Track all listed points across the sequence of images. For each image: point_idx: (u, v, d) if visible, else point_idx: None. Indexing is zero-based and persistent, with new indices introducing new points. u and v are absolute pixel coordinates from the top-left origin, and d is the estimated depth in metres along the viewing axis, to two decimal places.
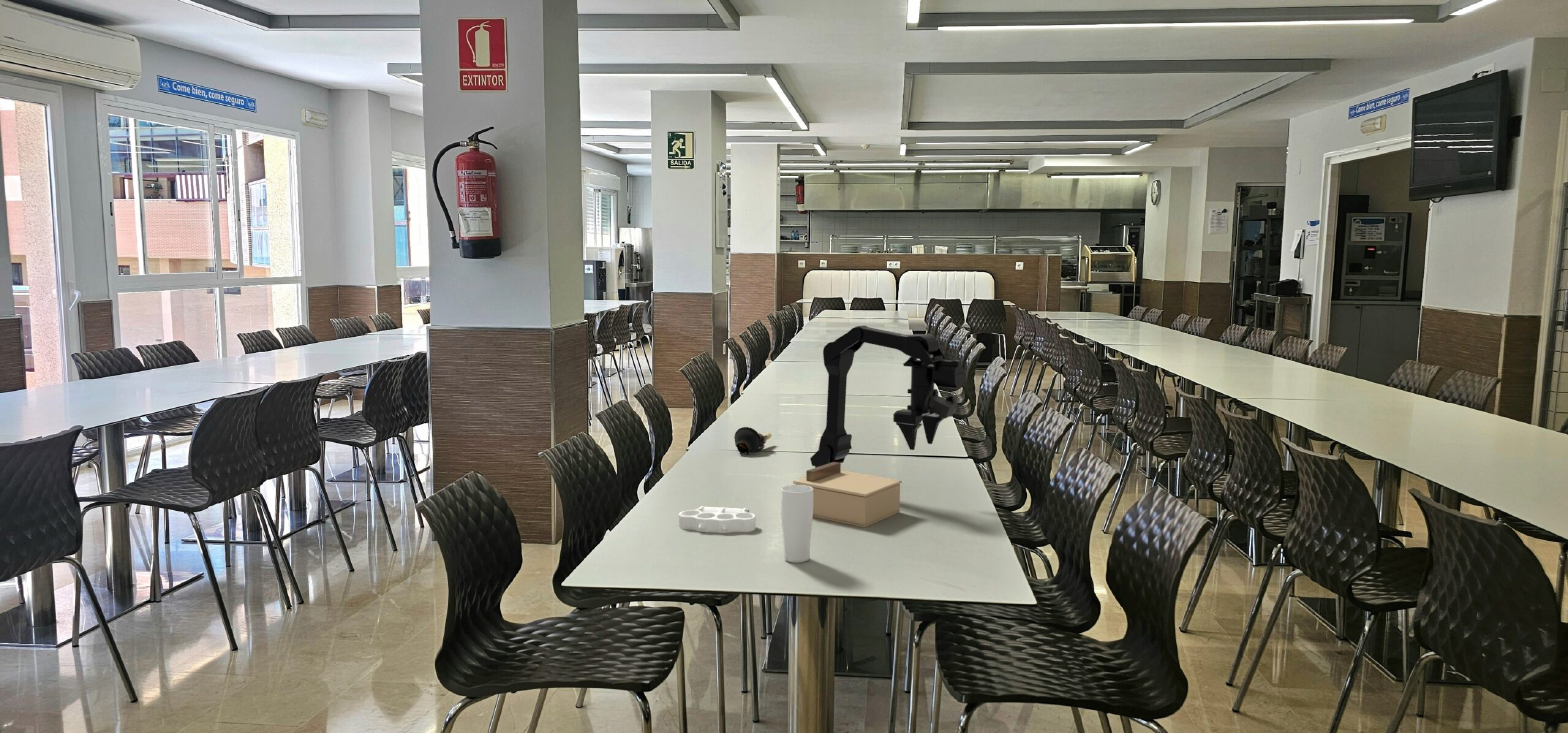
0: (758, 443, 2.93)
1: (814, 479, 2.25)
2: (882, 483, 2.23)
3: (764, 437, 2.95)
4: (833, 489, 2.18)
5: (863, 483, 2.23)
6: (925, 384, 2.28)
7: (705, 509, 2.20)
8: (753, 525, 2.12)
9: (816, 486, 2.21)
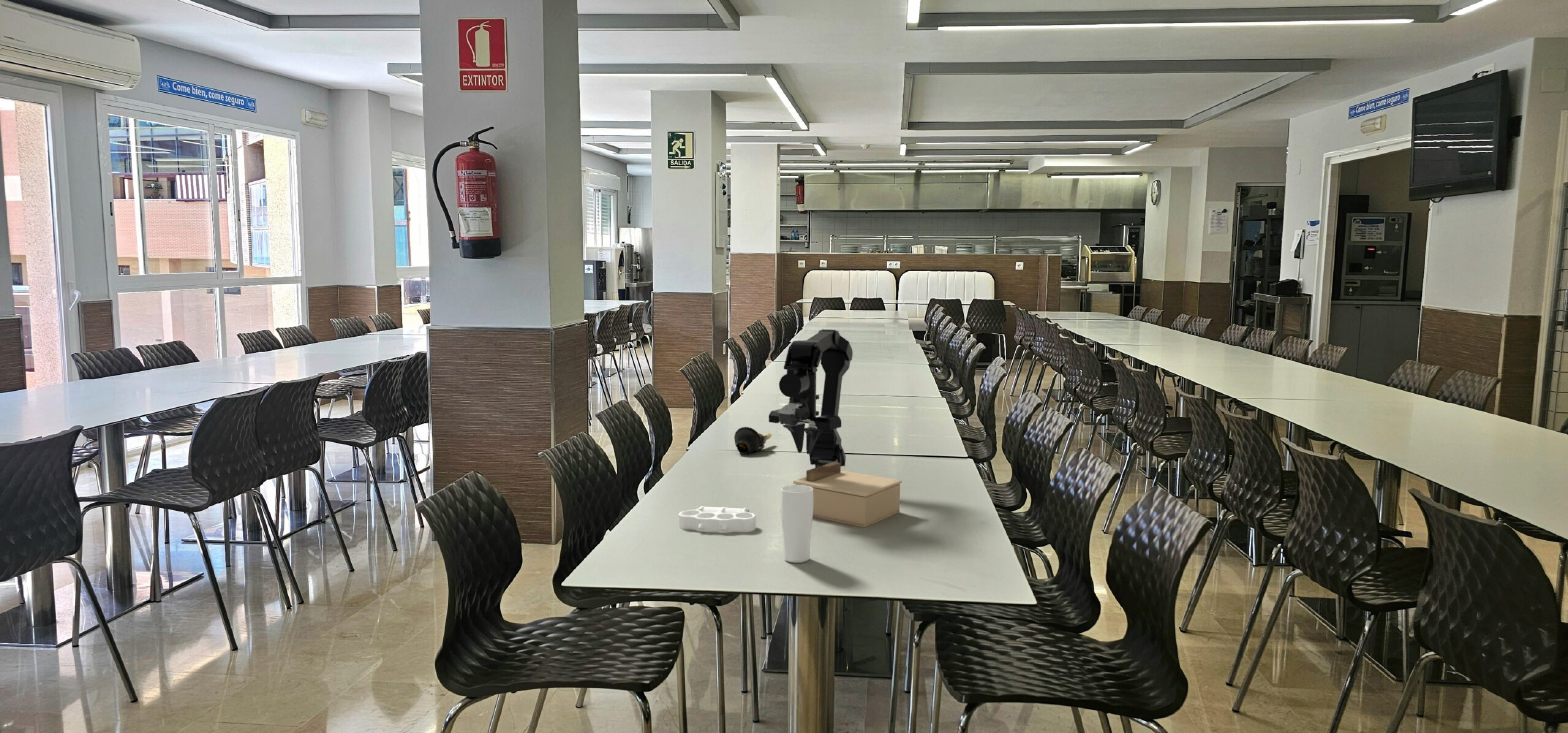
0: (758, 443, 2.93)
1: (814, 479, 2.25)
2: (882, 483, 2.23)
3: (764, 437, 2.95)
4: (833, 489, 2.18)
5: (863, 483, 2.23)
6: None
7: (705, 509, 2.20)
8: (753, 525, 2.12)
9: (816, 486, 2.21)
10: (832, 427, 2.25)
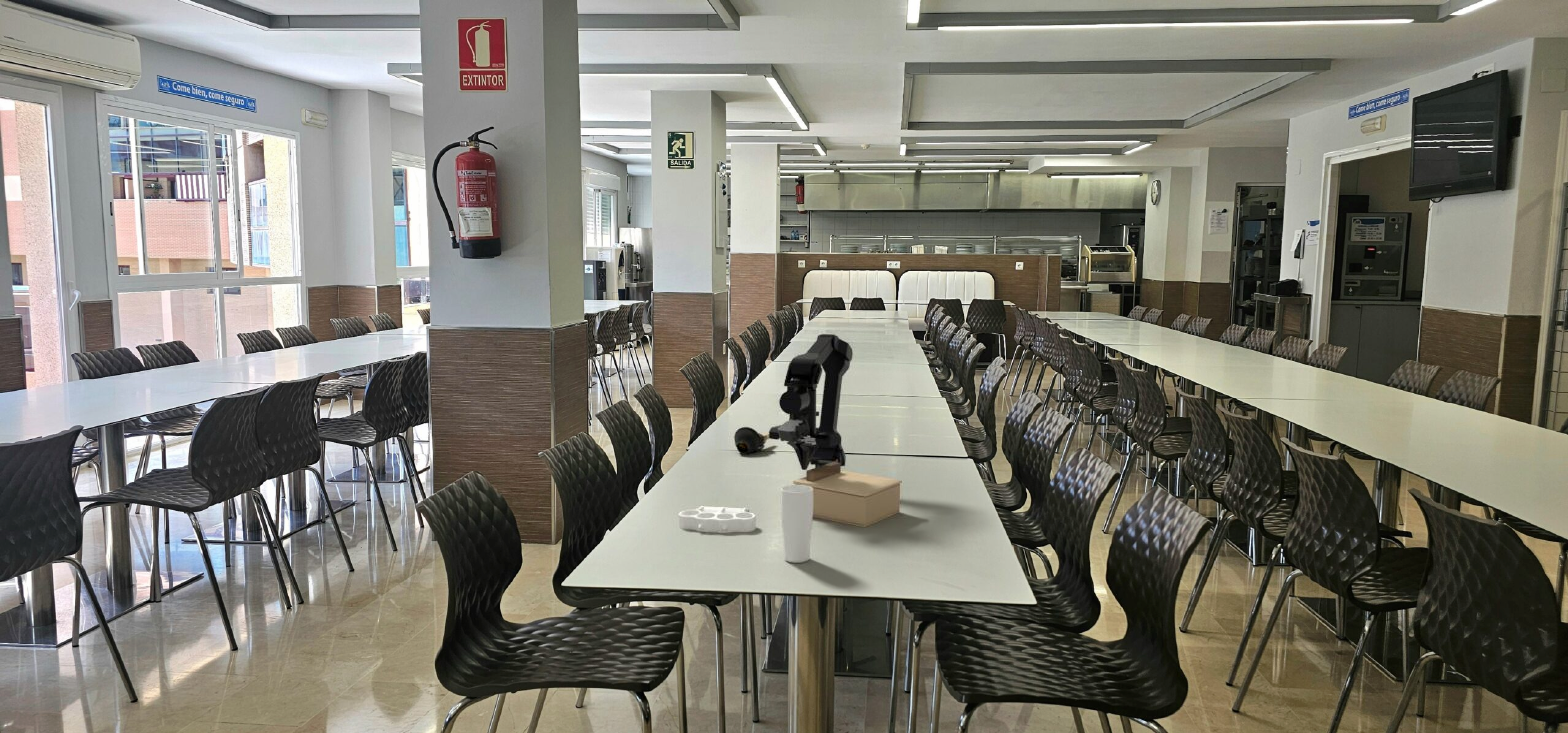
0: (758, 443, 2.93)
1: (814, 479, 2.25)
2: (882, 483, 2.23)
3: (764, 437, 2.95)
4: (833, 489, 2.18)
5: (863, 483, 2.23)
6: None
7: (706, 509, 2.20)
8: (753, 525, 2.12)
9: (816, 486, 2.21)
10: (832, 444, 2.26)
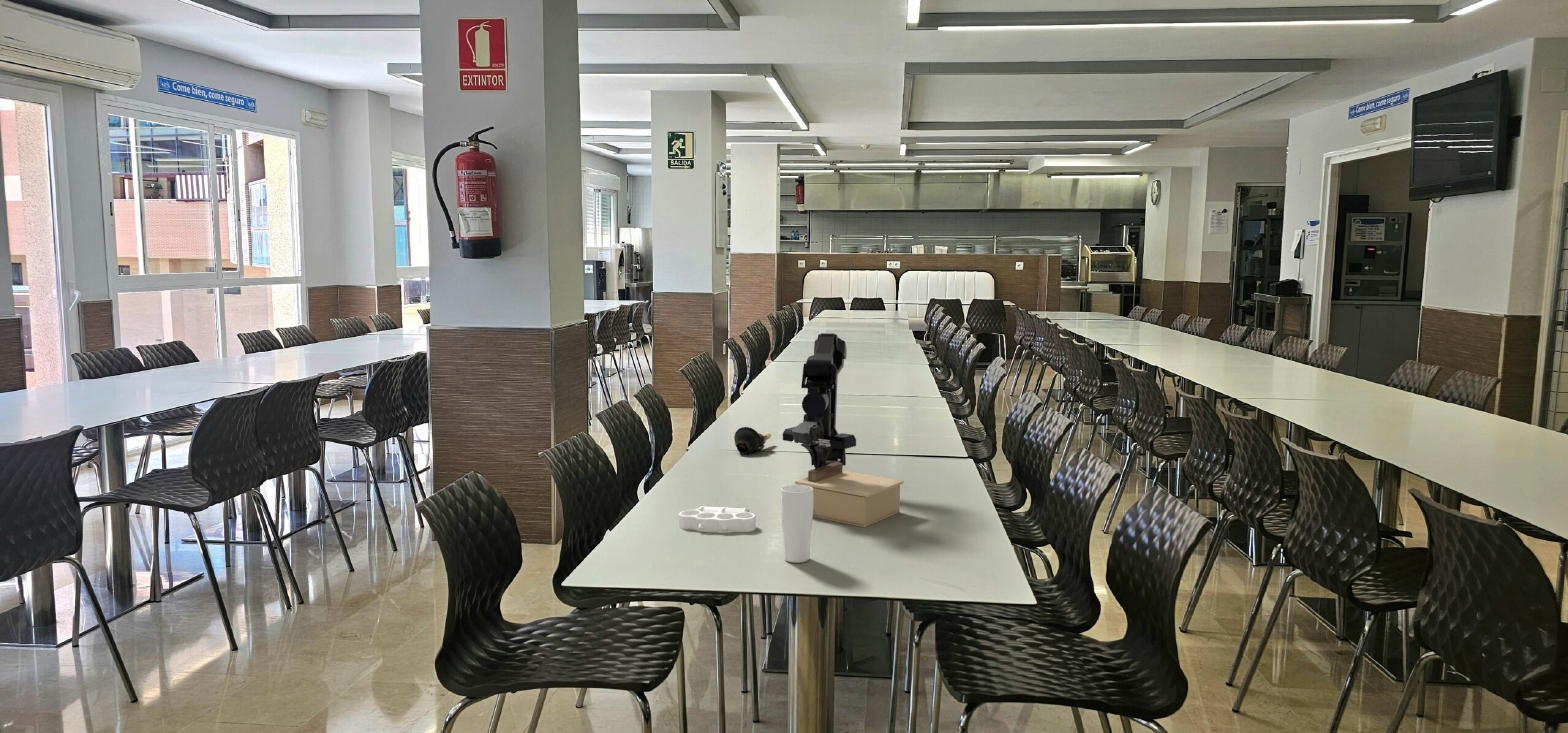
0: (758, 443, 2.93)
1: (816, 479, 2.24)
2: (884, 483, 2.23)
3: (764, 437, 2.95)
4: (835, 489, 2.18)
5: (865, 483, 2.22)
6: None
7: (706, 509, 2.20)
8: (753, 525, 2.12)
9: (818, 486, 2.21)
10: (847, 446, 2.23)
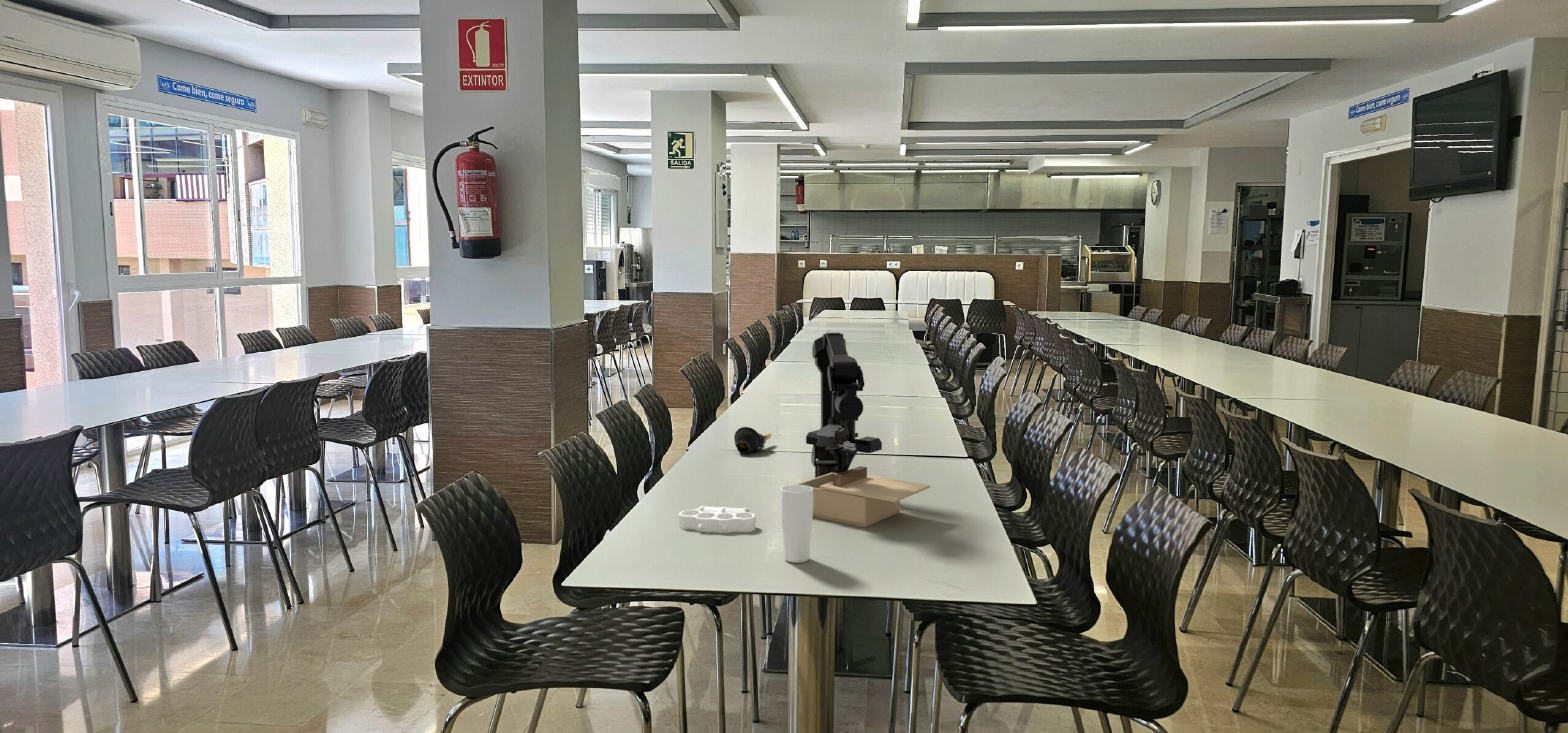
0: (758, 443, 2.93)
1: (841, 484, 2.20)
2: (910, 488, 2.18)
3: (764, 437, 2.95)
4: (861, 494, 2.13)
5: (891, 488, 2.18)
6: (836, 411, 2.22)
7: (706, 509, 2.20)
8: (753, 525, 2.12)
9: (843, 491, 2.16)
10: (873, 450, 2.19)
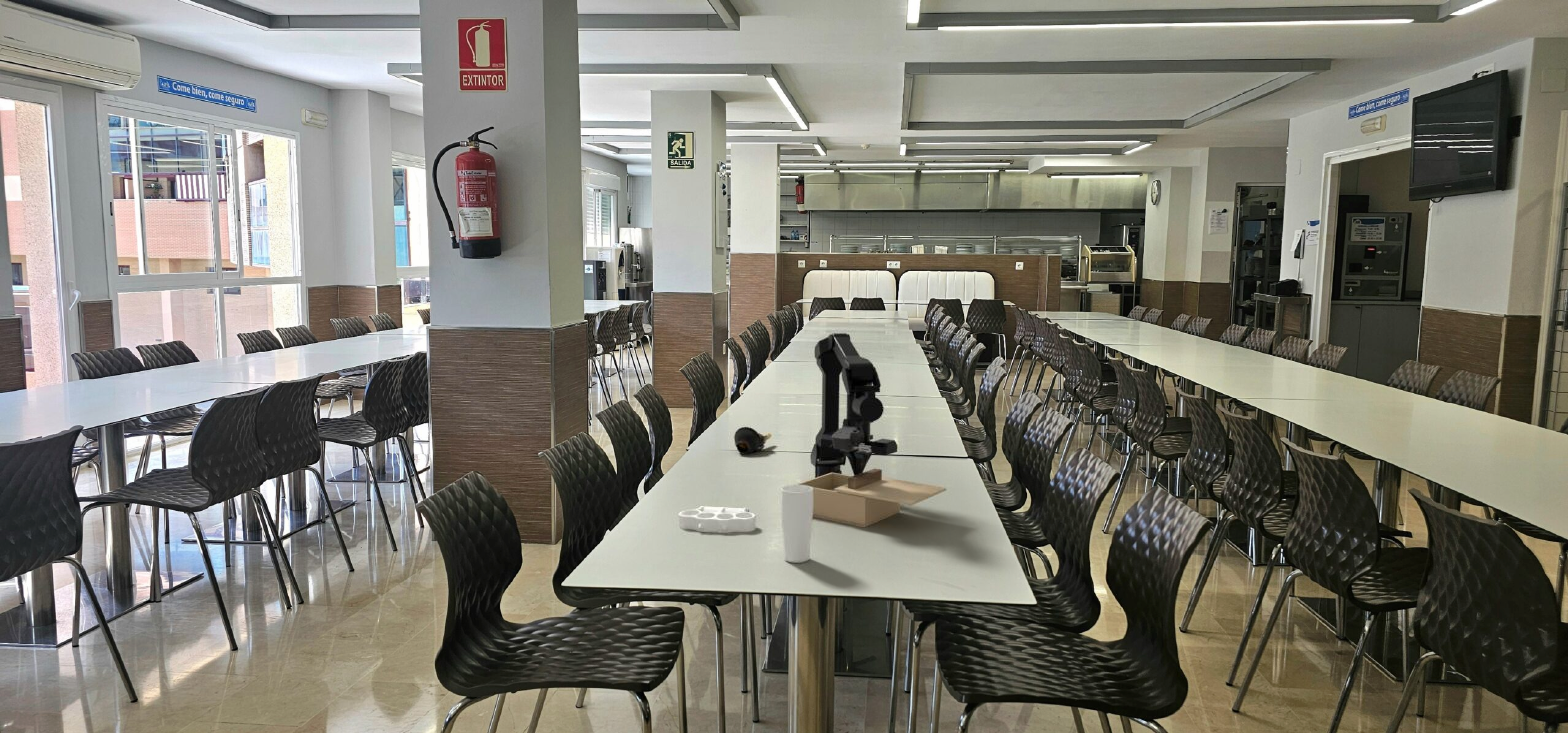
0: (758, 443, 2.93)
1: (856, 486, 2.18)
2: (927, 491, 2.16)
3: (764, 437, 2.95)
4: (877, 497, 2.11)
5: (907, 491, 2.16)
6: (852, 413, 2.19)
7: (706, 509, 2.20)
8: (753, 525, 2.12)
9: (859, 494, 2.14)
10: (888, 452, 2.16)
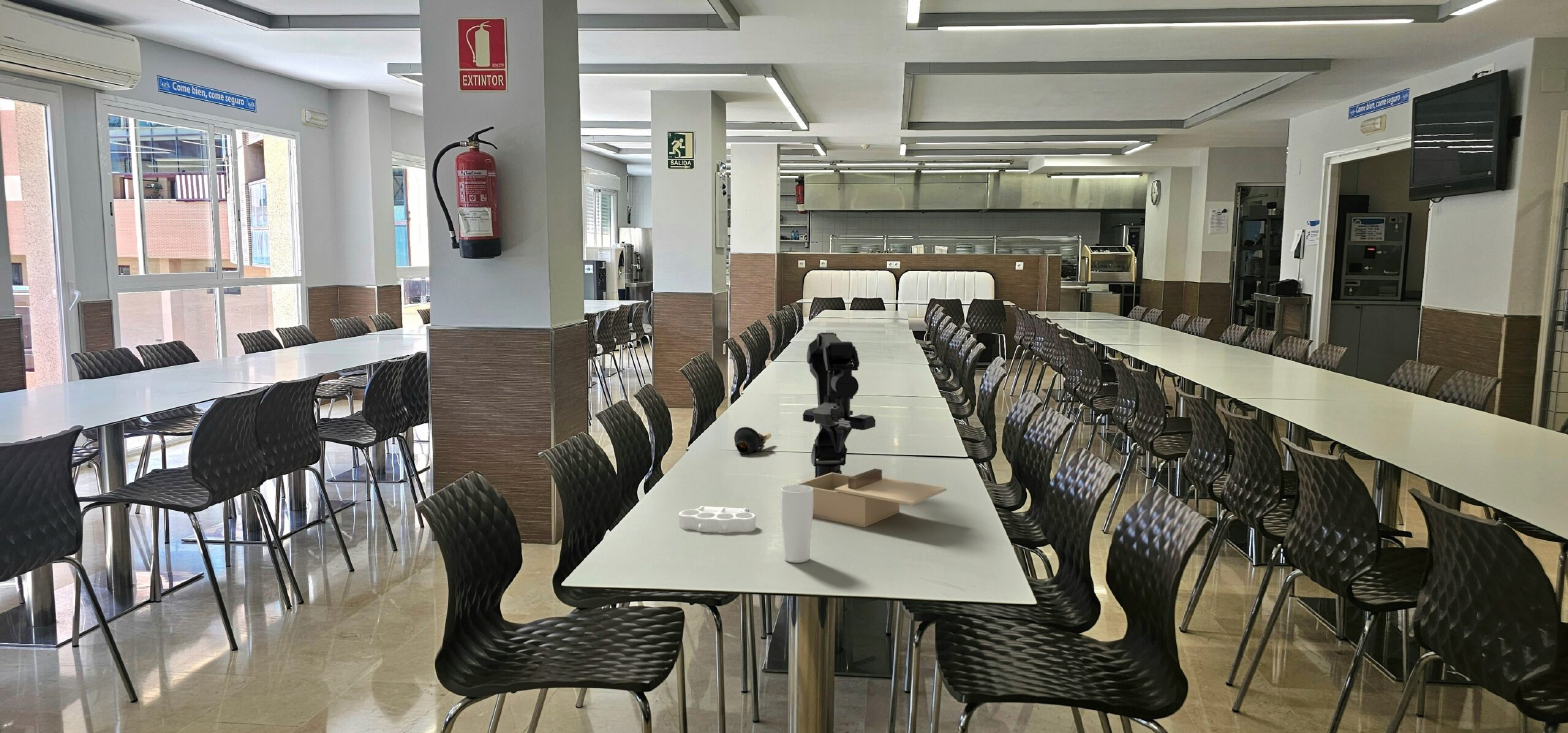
0: (758, 443, 2.93)
1: (856, 487, 2.17)
2: (927, 491, 2.16)
3: (764, 437, 2.95)
4: (877, 497, 2.11)
5: (907, 491, 2.16)
6: (832, 390, 2.31)
7: (706, 509, 2.20)
8: (753, 525, 2.12)
9: (859, 494, 2.14)
10: (867, 427, 2.28)
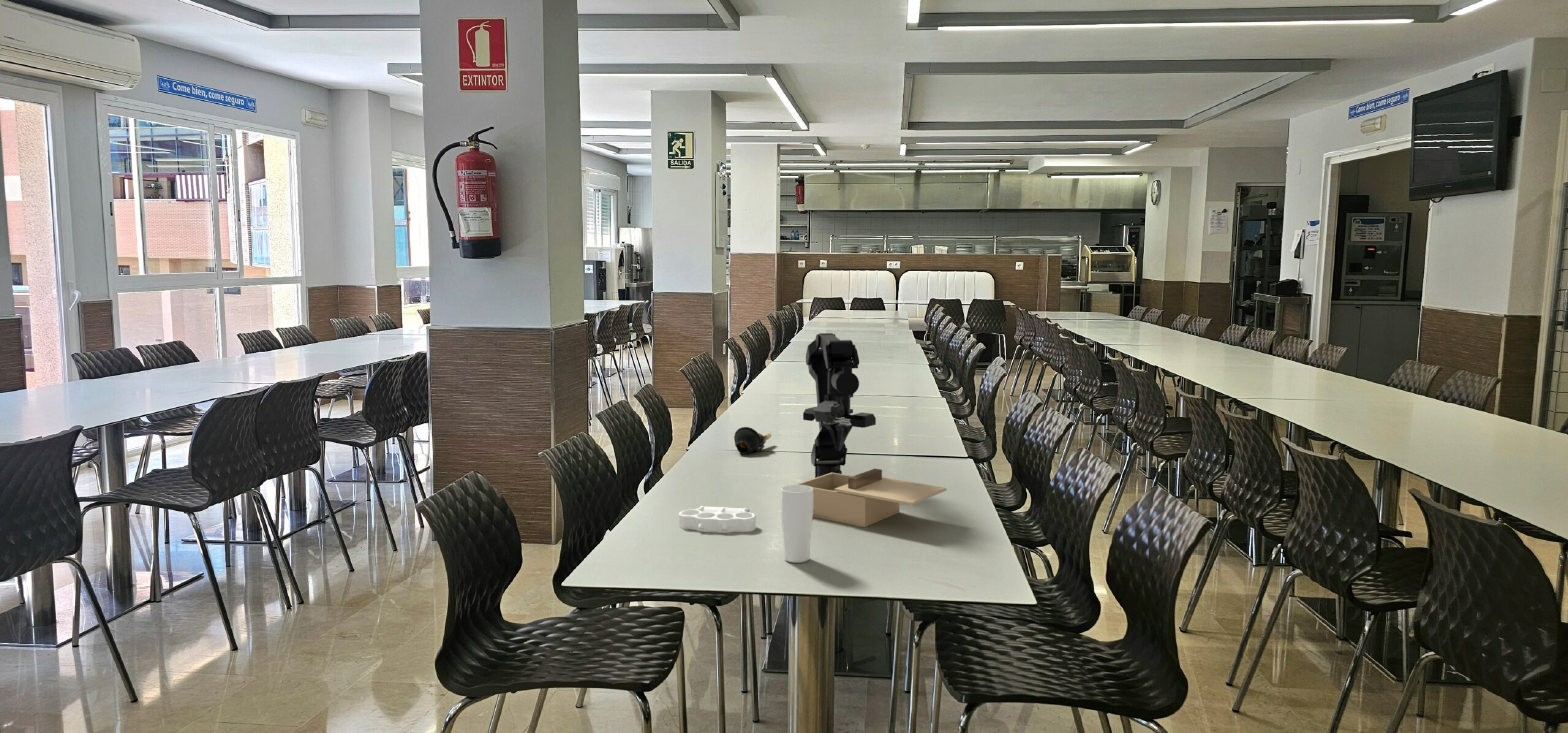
0: (758, 443, 2.93)
1: (856, 487, 2.17)
2: (927, 491, 2.16)
3: (764, 437, 2.95)
4: (877, 497, 2.11)
5: (907, 491, 2.16)
6: (832, 388, 2.32)
7: (706, 509, 2.20)
8: (753, 525, 2.12)
9: (859, 494, 2.14)
10: (867, 425, 2.28)
